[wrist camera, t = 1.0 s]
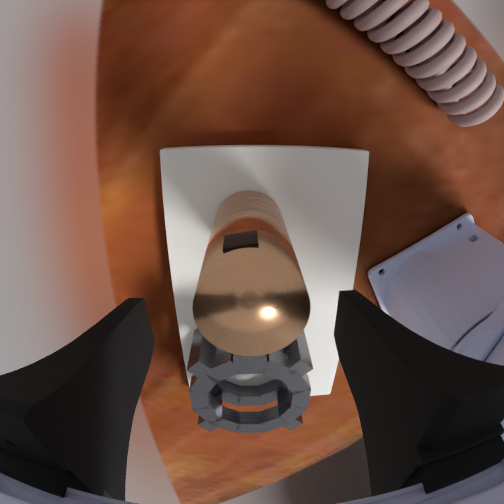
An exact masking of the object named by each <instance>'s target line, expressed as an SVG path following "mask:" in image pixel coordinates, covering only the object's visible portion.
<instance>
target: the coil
mask: <svg viewBox="0 0 504 504" xmlns="http://www.w3.org/2000/svg"><path fill="white" fill-rule="evenodd" d="M382 1H383V0H326V5H327V6H328V7H329V8H331V9H337V8H339V7H340V6H341V5H343V6H342V8H341V10H340V15H341V16H342V17H343V18H344V19H346V20H350V19H354V18H355V19H354V26H355V27H356V28H357V29H358V30H360V31H366V30H368V31H367V35H368V38H369V39H370V40H371V41H373V42H380V47H381V49H382V50H383V51H384V52H385V53H387V54H393V60H394V61H395V62H396V63H397V64H398V65H400V66H404V68H405V71H406V73H407V74H408V75H409V76H411V77H413V78H416V82H417V84H418V85H419V86H420V87H421V88H423V89H425V90H426V91H427V94H428V95H429V97H430V98H431V99H432V100H434V101H436V102H437V105H438V107H439V108H440V109H441V110H442V111H443V112H445V113H446V115H447V117H448V119H449V120H450V121H451V122H452V123H454V124H455V125H458V126H463V127H467V126H473V125H477V124H480V123H482V122H484V121H486V120H487V119H489V118H490V117H492V116H493V115H494V114H495V113H496V112H497V111H498V110H499V108H500V107H501V105H502V103H503V101H504V90H503V88H502V86H501V85H500V84H499V83H497V82H496V80H495V76H494V75H493V73H492V72H490V71H488V70H487V69H486V64H485V63H484V61H483V60H482V59H480V58H477V55H476V51H475V50H474V49H473V48H472V47H471V46H468V45H466V41H465V38H464V37H463V36H462V35H461V34H459V33H454V26H453V24H452V23H451V22H449V21H447V20H445V21H441V19H442V14H441V12H440V11H439V10H438V9H436V8H430V9H428V10H427V8H428V7H429V1H428V0H412V1H411V2H409V3H408V4H407V5H406V6H405V7H404V8H403V9H402V10H401V11H400V12H399V13H398V14H397V15H396V17H395V18H394V19H393V20H392V21H390V22H389V23H387V24H386V25H385V23H386V22H387V20H388V19H389V18H390V17H391V15H392V14H394V13H395V12H396V11H397V10H398V9H400V8H401V7H402V6H403V5H404V4H405V3H407V2H408V1H409V0H386V1H385V2H384V3H382V4H381V5H380V6H379V4H380V3H381V2H382ZM378 6H379V7H378ZM404 29H405V31H404V32H403V33H402V35H401V36H400V37H399V38H398V39H396V40H394V39H395V37H396V36H397V34H399V33H400V32H402V31H403V30H404ZM409 48H411V49H410V50H409V52H408V53H405V52H406V50H407V49H409ZM460 59H461V60H460ZM458 60H460V61H459V62H458V63H457V64H456V65H455V66H453V67H452V68H451V69H449V70H448V71H446V70H447V69H448V68H449V67H450V66H451V65H452V64H454V63H455V62H456V61H458ZM418 63H419V64H418ZM417 64H418V66H416V65H417ZM472 69H474V70H473V71H472V72H471V73H469V74H467V73H468V72H469V71H470V70H472ZM445 71H446V72H445ZM466 74H467V75H466ZM465 75H466V76H465ZM427 77H428V78H427ZM460 79H461V80H460ZM459 80H460V81H459ZM457 81H459V82H458V83H457V84H456V85H455V86H454V87H452V85H453V84H454V83H456V82H457ZM482 81H484V82H482ZM481 82H482V83H481ZM451 87H452V88H451ZM492 93H493V95H492ZM491 95H492V97H491V99H490V100H489V101H488V102H487V103H486V104H485V105H484V106H483V107H481V108H480V109H478V110H476V111H474V112H472V113H468V114H466V113H467V112H470V111H472V110H474V109H476V108H478V107H479V106H481V105H482V104H483V103H484V102H486V101H487V100H488V98H489V97H490V96H491ZM461 98H462V99H461ZM459 99H461V100H460V101H459Z"/></svg>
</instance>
